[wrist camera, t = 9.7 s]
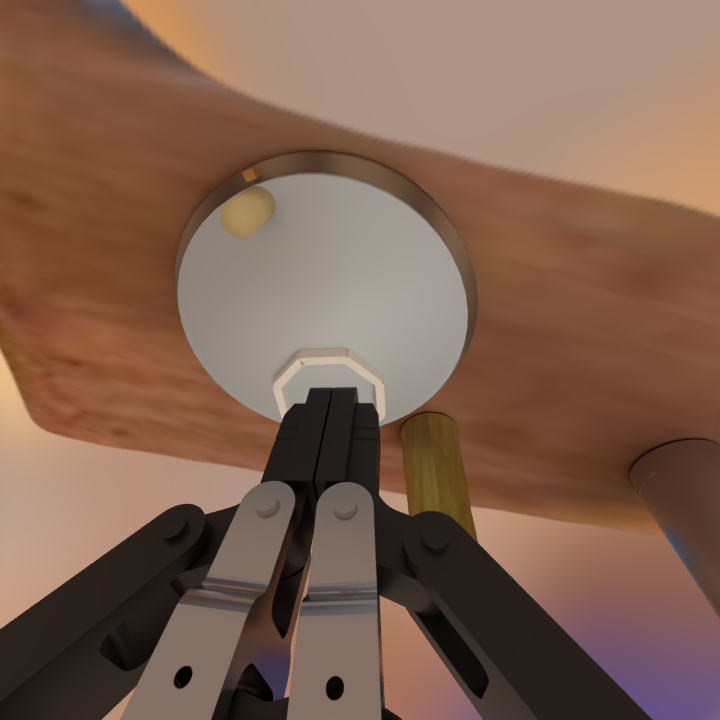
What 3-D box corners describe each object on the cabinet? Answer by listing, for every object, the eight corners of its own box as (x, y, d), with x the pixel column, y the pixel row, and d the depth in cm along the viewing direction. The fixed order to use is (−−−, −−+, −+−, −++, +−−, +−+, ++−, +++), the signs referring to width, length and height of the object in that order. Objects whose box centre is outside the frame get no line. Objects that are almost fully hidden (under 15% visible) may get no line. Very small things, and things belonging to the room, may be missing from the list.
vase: (452, 406, 36) (484, 548, 25) (461, 446, 40) (493, 588, 28) (394, 417, 38) (398, 557, 26) (407, 454, 41) (416, 593, 29)
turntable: (479, 157, 22) (503, 171, 17) (453, 419, 34) (464, 466, 30) (137, 186, 24) (80, 205, 19) (232, 423, 36) (211, 467, 32)
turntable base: (490, 134, 23) (504, 138, 20) (459, 411, 37) (465, 434, 34) (134, 165, 25) (105, 172, 22) (232, 415, 39) (221, 438, 36)
